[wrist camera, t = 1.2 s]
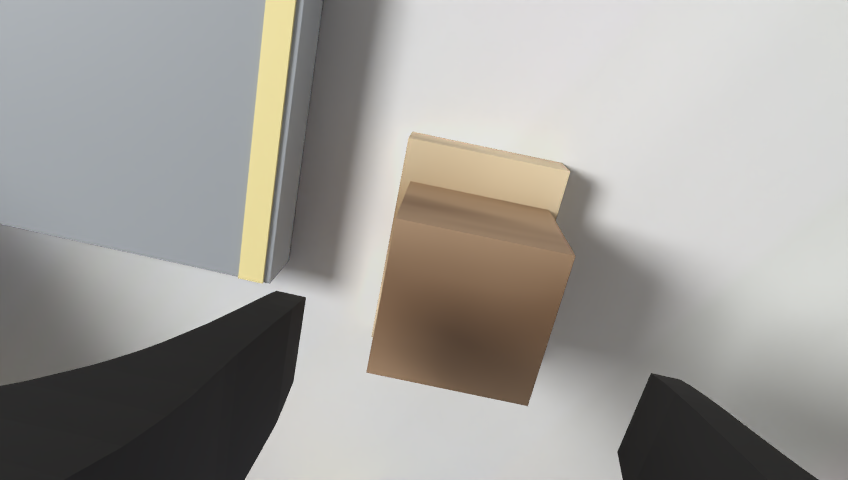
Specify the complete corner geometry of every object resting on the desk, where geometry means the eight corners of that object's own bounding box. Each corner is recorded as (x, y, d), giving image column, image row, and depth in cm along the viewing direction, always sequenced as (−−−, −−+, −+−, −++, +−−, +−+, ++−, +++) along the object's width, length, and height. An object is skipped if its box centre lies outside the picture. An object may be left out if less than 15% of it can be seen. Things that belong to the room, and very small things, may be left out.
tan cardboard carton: (508, 343, 20) (526, 446, 14) (378, 316, 20) (348, 409, 14) (560, 162, 17) (604, 207, 12) (412, 131, 17) (392, 162, 12)
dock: (288, 260, 19) (268, 284, 17) (15, 200, 19) (-37, 217, 17) (329, -45, 16) (310, -60, 14) (-4, -121, 15) (-72, -147, 13)
